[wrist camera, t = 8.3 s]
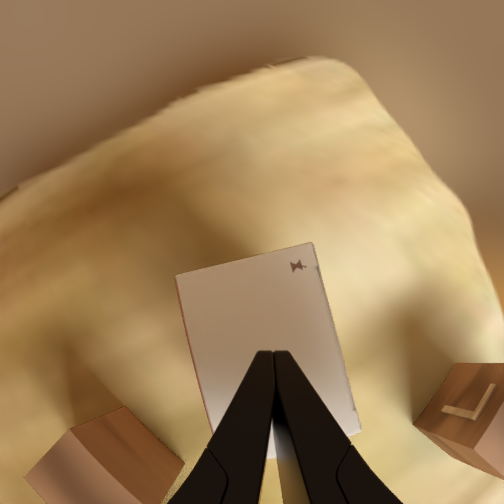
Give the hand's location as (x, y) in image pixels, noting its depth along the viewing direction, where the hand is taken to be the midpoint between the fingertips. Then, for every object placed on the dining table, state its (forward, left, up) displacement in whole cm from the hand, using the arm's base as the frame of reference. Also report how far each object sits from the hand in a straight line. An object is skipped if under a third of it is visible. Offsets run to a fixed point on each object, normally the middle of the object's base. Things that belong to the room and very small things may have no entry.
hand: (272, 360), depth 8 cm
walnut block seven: (+6, -16, -13) cm, 22 cm away
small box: (0, 0, -13) cm, 13 cm away
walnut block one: (-13, +1, -13) cm, 19 cm away
